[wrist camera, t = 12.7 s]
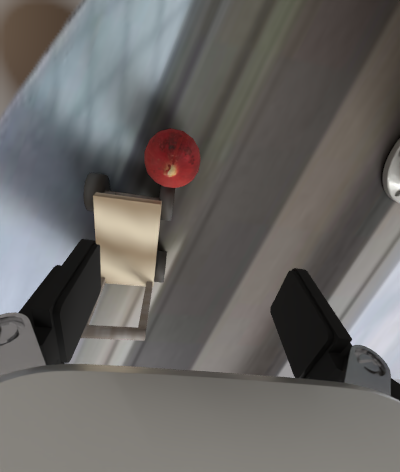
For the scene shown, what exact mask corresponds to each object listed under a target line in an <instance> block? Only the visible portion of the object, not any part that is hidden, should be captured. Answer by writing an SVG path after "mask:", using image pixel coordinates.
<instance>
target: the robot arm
mask: <svg viewBox="0 0 400 472" xmlns="http://www.w3.org/2000/svg"><path fill="white" fill-rule="evenodd" d="M382 181H383V187H384V190H385V192H386V194H387V195H388V196H389V197H390V198H391V199H392V200H394V201H396V202H397V203H400V138H399V140H398V141H397V142H396V144H395V145H394V147H393V148H392V150H391V152H390V153H389V156H388V158H387V160H386V163H385V166H384V170H383V180H382ZM100 291H101V262H100V245H99V244H96V241H93V240H86V239H81V240H80V242H79V243H78V244H77V246H76V247H75V248H74V250H73V251H72V253H71V254H70V255H69V257H68V258H67V259H66V261H65V262H64V263H63V265H62V266H60V265H57V266H55V267H54V268H53V269H52V270H51V272H50V273H49V274H48V275H47V277H46V278H45V279H44V281H43V282H42V283H41V284H40V286H39V287H38V288H37V290H36V291H35V292H34V293H33V295H32V296H31V297H30V299H29V300H28V301H27V302H26V304H25V305H24V306H23V308H22V309H21V310H20V311H19V313H6V314H2V315H0V472H400V384H399V383H397V382H396V381H394V380H393V379H392V378H391V374H390V369H389V367H388V366H387V364H386V363H385V361H384V360H383V359H382V358H381V357H380V356H379V355H378V354H377V353H375V352H374V351H372V350H371V349H369V348H367V347H365V346H362V345H354V346H352V345H351V343H350V342H351V340H352V338H351V337H350V335H349V334H348V332H347V331H346V329H345V328H344V326H343V325H342V323H341V322H340V320H339V319H338V317H337V316H336V314H335V313H334V311H333V310H332V308H331V307H330V305H329V304H328V302H327V301H326V299H325V298H324V296H323V295H322V293H321V292H320V290H319V289H318V287H317V286H316V284H315V282H314V281H313V279H312V278H311V276H310V275H309V273H308V272H307V271H306V270H303V269H296V268H294V269H292V271H289V272H288V274H287V276H286V278H285V280H284V282H283V284H282V286H281V288H280V290H279V292H278V294H277V296H276V298H275V300H274V302H273V304H272V306H271V315H272V318H273V320H274V323H275V326H276V329H277V331H278V334H279V337H280V339H281V342H282V345H283V347H284V350H285V353H286V355H287V358H288V361H289V363H290V366H291V369H292V372H293V374H294V376H295V378H288V377H275V376H262V375H249V374H234V373H220V372H206V371H191V370H176V369H161V368H145V367H130V366H110V365H89V364H64V363H65V362H67V363H68V362H69V361H70V360H71V358H72V356H73V353H74V351H75V349H76V347H77V344H78V342H79V340H80V338H81V335H82V333H83V331H84V329H85V326H86V324H87V322H88V320H89V317H90V315H91V313H92V311H93V308H94V306H95V304H96V302H97V299H98V297H99V295H100Z"/></svg>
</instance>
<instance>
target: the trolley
mask: <svg viewBox="0 0 400 472" xmlns="http://www.w3.org/2000/svg"><path fill="white" fill-rule="evenodd" d="M174 194H175V188H171V187H164V186H162V185H161V191H160V198H157V197H150V196H142V195H135V194H128V193H120V192H113V191H110V183H109V178H108V176H107V175H104V174H97V173H89V174H88V176H87V178H86V181H85V186H84V204H85V207H86V209H87V210H88V211H94V220H95V237H96V244H99V245H100V262H101V291H100V295H101V293H102V290H103V288H104V285H105V283H110V284H123V285H135V286H146V288H145V293H144V299H143V304H142V310H141V316H140V321H139V327H138V328H132V327H113V326H94V325H89V323H90V320H91V318H92V315H93V313H94V310H95V308H96V305H97V303H98V300H99V298H100V295H99V297H98V299H97V302H96V304H95V306H94V308H93V311H92V313H91V315H90V317H89V320H88V322H87V324H86V326H85V329H84V331H83V333H82V335H81V338H97V339H119V340H141V341H145V334H146V327H147V320H148V313H149V306H150V300H151V293H152V287H153V285H154V282H164V274H165V265H166V256H167V252H166V251H157V245H158V235H159V225H160V220H168V221H171V218H172V211H173V203H174Z"/></svg>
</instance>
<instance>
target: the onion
mask: <svg viewBox="0 0 400 472" xmlns="http://www.w3.org/2000/svg"><path fill="white" fill-rule="evenodd" d="M199 165H200V153H199V148H198V146H197V145H196V143H195V141H194V140H193V138H191V137H190V136H189V135H187V134H186V133H185V132H184V131H180V130H176V129H171V128H170V129H166V130H163V131H159V132H157V133H156V134H155V135H154V136H153V137H152V138H151V139H150V141H149V143H148V145H147V147H146V149H145V166H146V169H147V173H148V174H149V176H150V177H151V178H152V179H153V180H154V181H155V182H156V183H158V184H160V185H162V186H164V187H171V188H176V187H181V186H185V185H186V184H188V183H189V182H190V181H192V180H193V179H194V177H195V176H196V174H197V172H198V170H199Z"/></svg>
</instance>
